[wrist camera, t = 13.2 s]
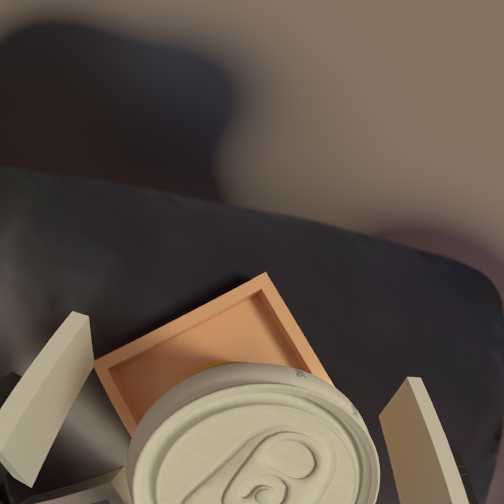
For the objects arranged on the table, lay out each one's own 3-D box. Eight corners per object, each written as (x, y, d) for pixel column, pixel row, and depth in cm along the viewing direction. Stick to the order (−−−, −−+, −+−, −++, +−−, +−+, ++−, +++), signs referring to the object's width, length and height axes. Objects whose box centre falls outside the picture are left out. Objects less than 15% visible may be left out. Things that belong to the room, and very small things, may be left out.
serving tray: (103, 362, 20) (91, 362, 17) (260, 281, 23) (265, 271, 21) (195, 510, 17) (194, 525, 14) (347, 426, 20) (361, 432, 18)
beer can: (161, 414, 18) (68, 511, 4) (214, 342, 20) (221, 302, 6) (239, 463, 18) (293, 612, 4) (290, 392, 20) (436, 436, 6)
